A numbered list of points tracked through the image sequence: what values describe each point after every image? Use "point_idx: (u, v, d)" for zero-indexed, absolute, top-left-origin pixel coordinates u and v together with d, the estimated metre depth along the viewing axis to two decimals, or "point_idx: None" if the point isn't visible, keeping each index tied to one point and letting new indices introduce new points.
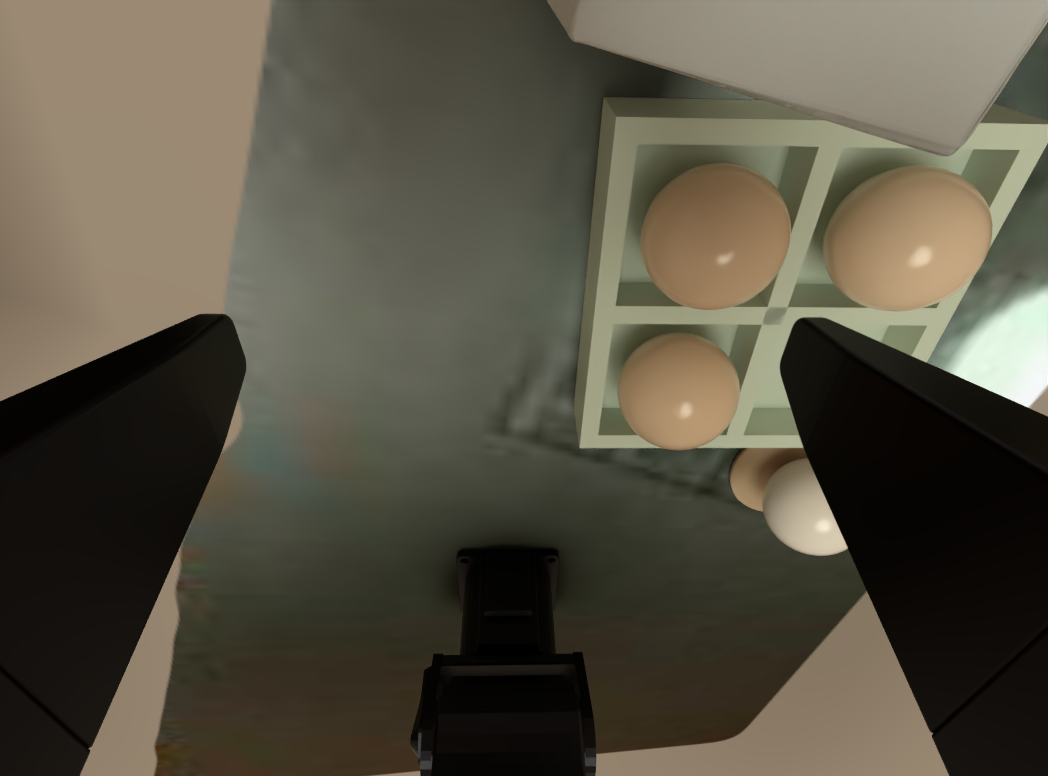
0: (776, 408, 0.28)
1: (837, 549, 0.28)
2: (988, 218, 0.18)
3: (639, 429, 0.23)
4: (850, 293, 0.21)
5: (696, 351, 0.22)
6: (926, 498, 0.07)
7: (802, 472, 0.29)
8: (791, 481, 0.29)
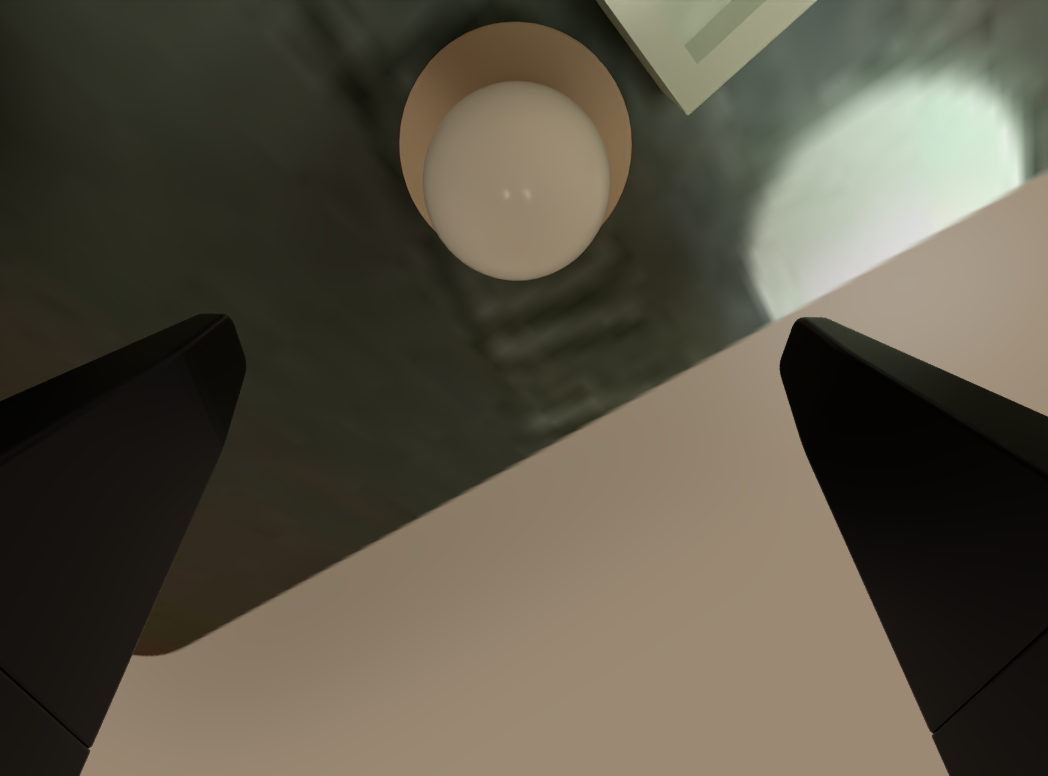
0: None
1: (514, 239, 0.14)
2: None
3: None
4: None
5: None
6: (926, 498, 0.07)
7: (546, 86, 0.14)
8: (520, 82, 0.14)
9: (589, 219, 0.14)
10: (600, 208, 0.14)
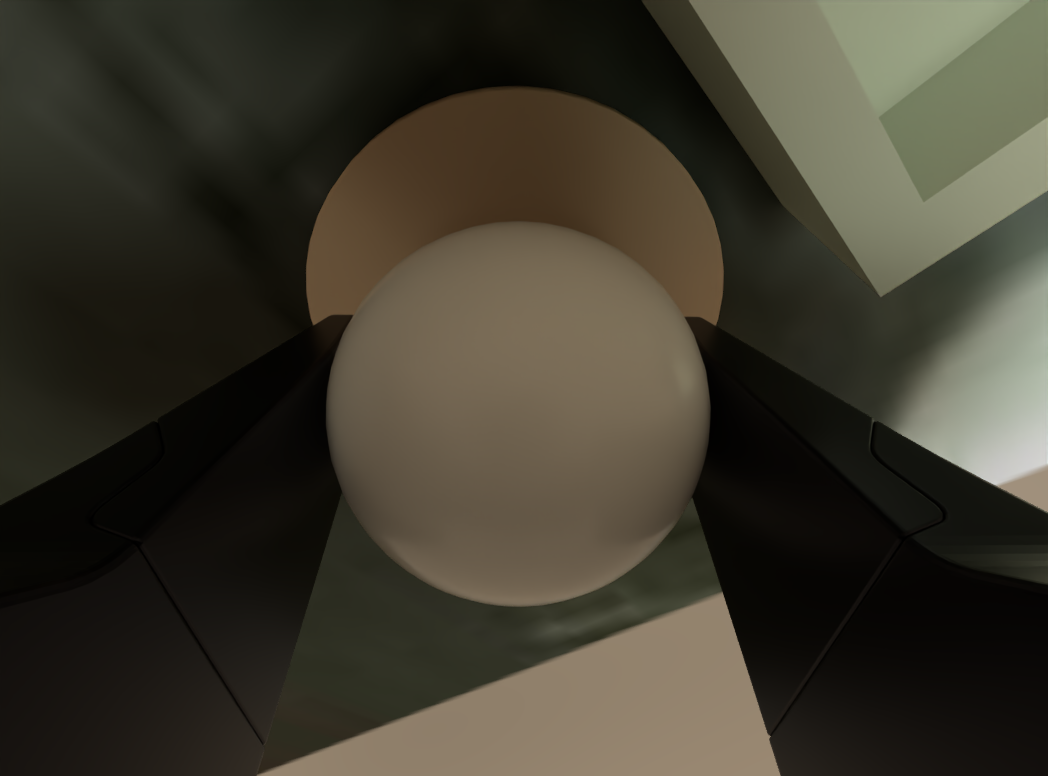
0: None
1: (513, 590, 0.06)
2: None
3: None
4: None
5: None
6: (759, 499, 0.07)
7: (582, 238, 0.07)
8: (526, 236, 0.06)
9: (673, 522, 0.07)
10: (694, 489, 0.07)
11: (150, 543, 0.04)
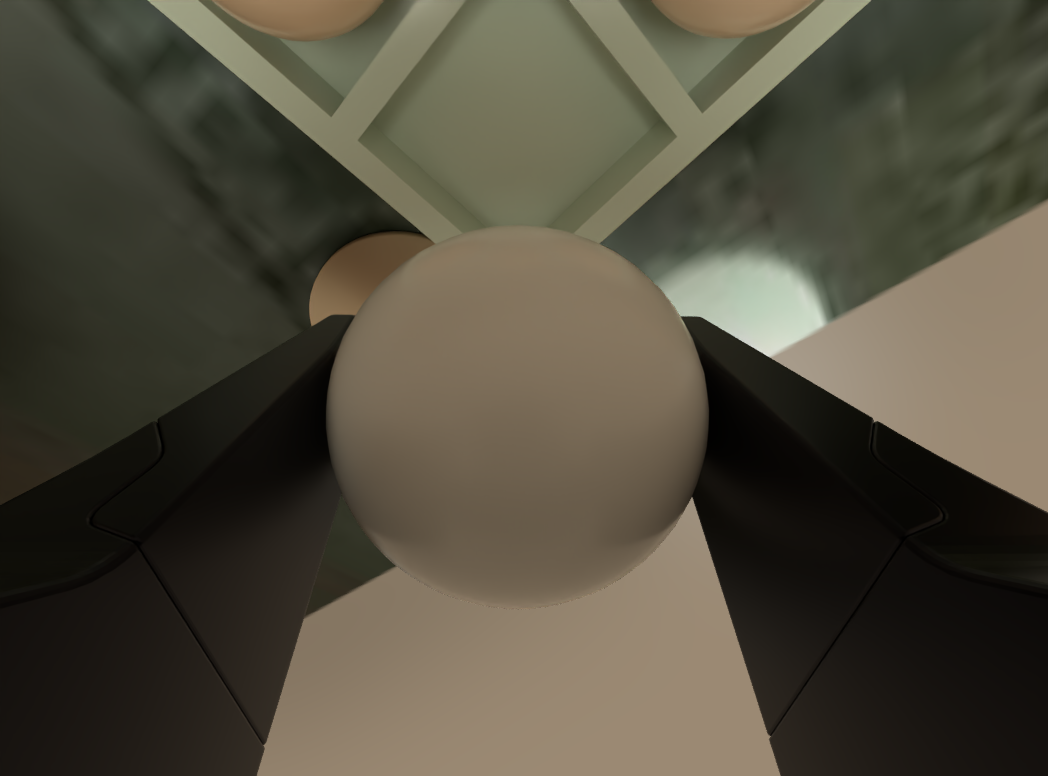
0: (432, 178, 0.18)
1: (512, 592, 0.06)
2: None
3: None
4: None
5: None
6: (759, 499, 0.07)
7: (581, 242, 0.07)
8: (525, 240, 0.06)
9: (671, 525, 0.07)
10: (692, 492, 0.07)
11: (149, 543, 0.04)
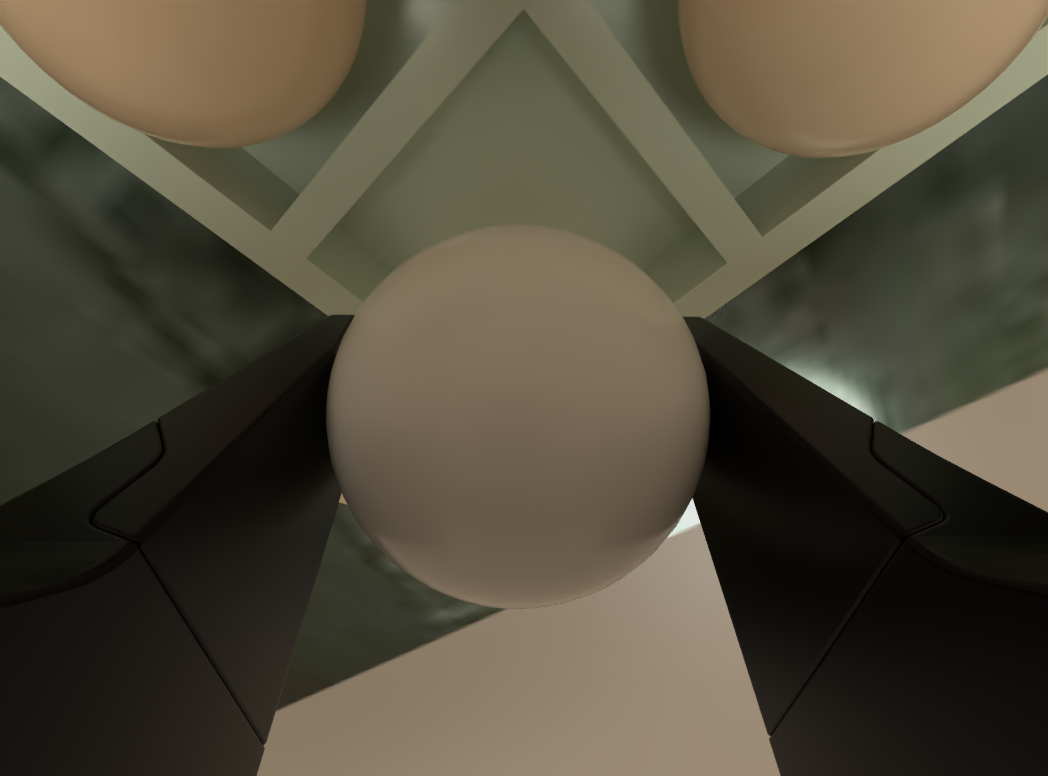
0: None
1: (513, 592, 0.06)
2: None
3: None
4: None
5: None
6: (759, 499, 0.07)
7: (582, 240, 0.07)
8: (526, 239, 0.06)
9: (673, 525, 0.07)
10: (693, 492, 0.07)
11: (150, 543, 0.04)
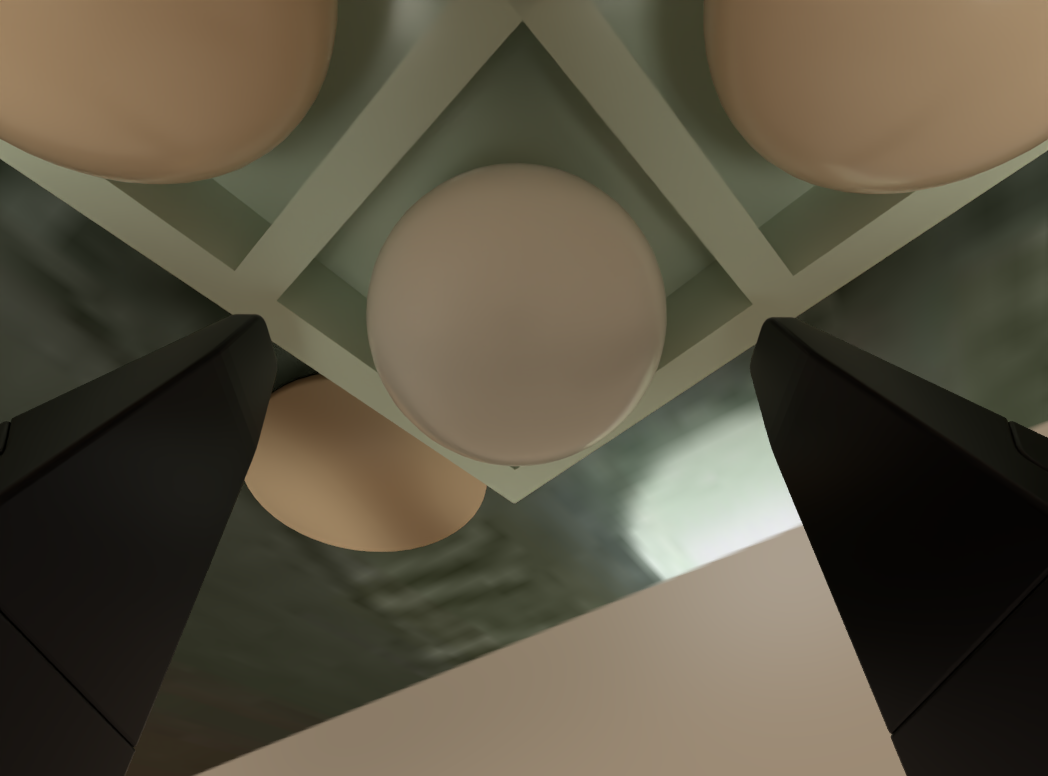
0: None
1: (513, 435, 0.08)
2: None
3: None
4: None
5: None
6: (884, 498, 0.07)
7: (565, 173, 0.09)
8: (522, 169, 0.08)
9: (636, 391, 0.09)
10: (653, 369, 0.09)
11: None
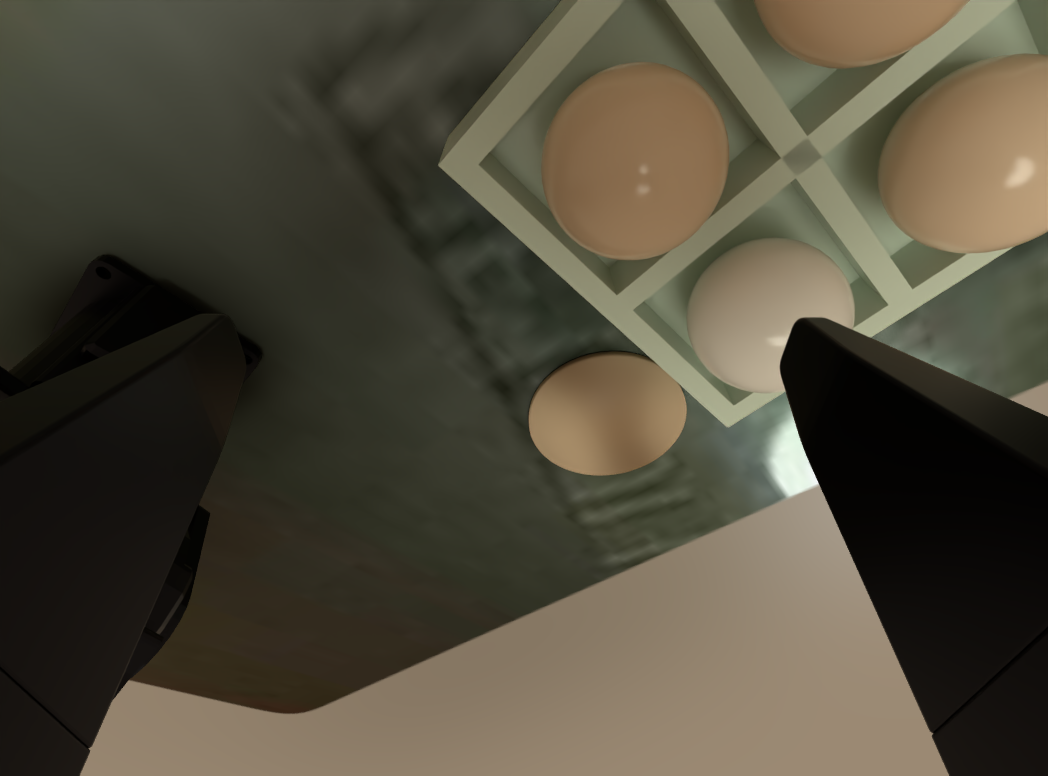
0: (663, 320, 0.21)
1: None
2: None
3: (570, 159, 0.14)
4: (916, 171, 0.15)
5: (716, 107, 0.14)
6: (926, 498, 0.07)
7: (804, 243, 0.17)
8: (787, 243, 0.17)
9: None
10: None
11: None
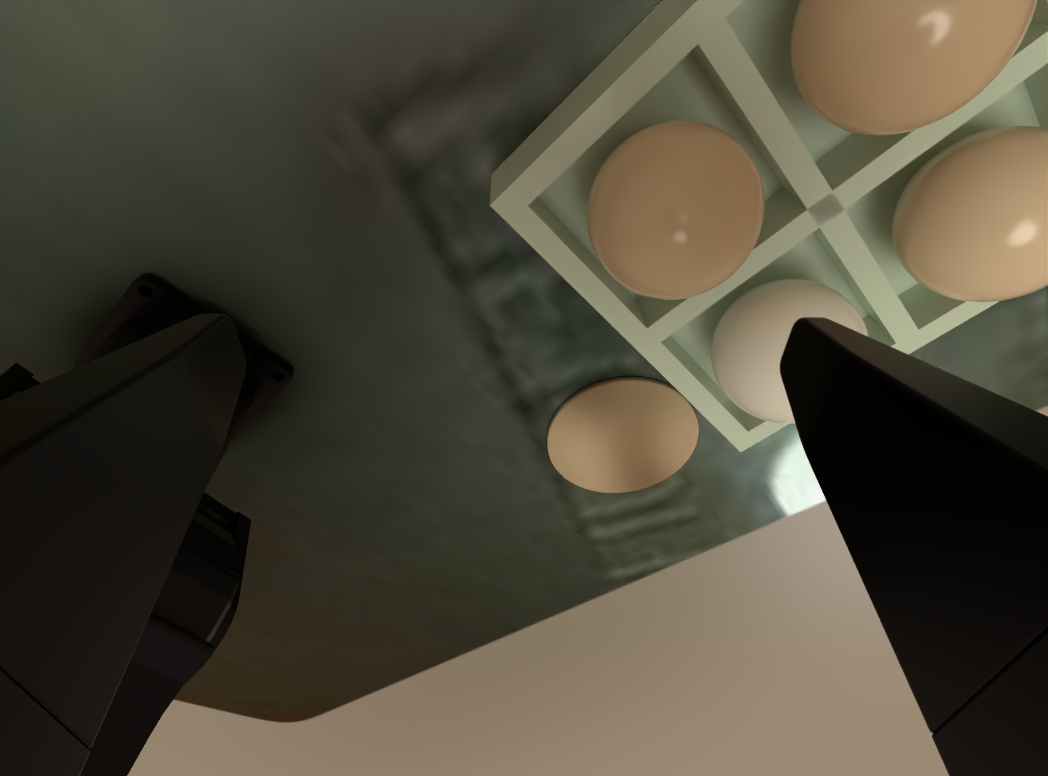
0: (684, 349, 0.23)
1: None
2: None
3: (622, 208, 0.15)
4: (932, 227, 0.16)
5: (755, 165, 0.15)
6: (926, 498, 0.07)
7: (824, 286, 0.19)
8: (810, 286, 0.18)
9: None
10: None
11: None
